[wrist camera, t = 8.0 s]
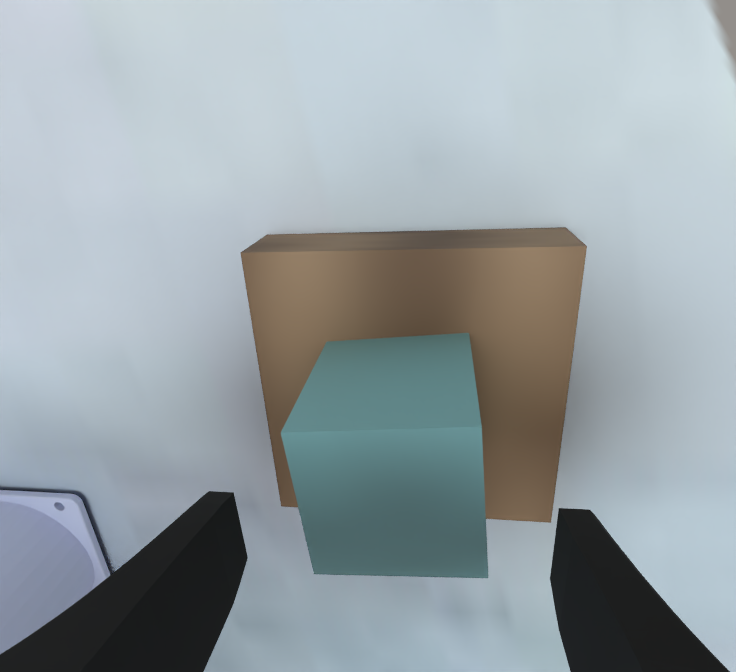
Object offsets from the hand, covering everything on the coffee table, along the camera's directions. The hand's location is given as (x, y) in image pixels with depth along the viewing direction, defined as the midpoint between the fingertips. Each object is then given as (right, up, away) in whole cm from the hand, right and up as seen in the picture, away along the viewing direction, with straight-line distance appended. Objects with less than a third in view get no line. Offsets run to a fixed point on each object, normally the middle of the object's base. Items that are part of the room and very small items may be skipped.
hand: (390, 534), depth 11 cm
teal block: (+1, +2, +5) cm, 6 cm away
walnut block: (+1, +4, +8) cm, 9 cm away
